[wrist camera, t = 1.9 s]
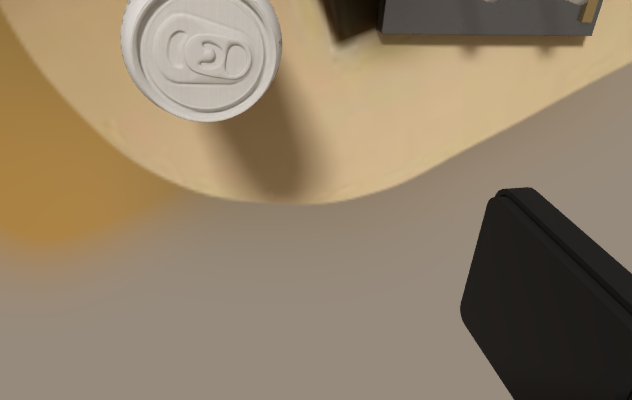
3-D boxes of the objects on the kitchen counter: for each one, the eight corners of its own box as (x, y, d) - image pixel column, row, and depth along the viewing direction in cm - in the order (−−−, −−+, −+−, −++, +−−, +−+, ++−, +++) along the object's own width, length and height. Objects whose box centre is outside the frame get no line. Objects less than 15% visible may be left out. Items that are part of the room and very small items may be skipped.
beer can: (141, -87, 30) (124, -52, 18) (249, -61, 32) (303, -13, 20) (132, 23, 33) (112, 120, 20) (233, 41, 35) (270, 140, 22)
